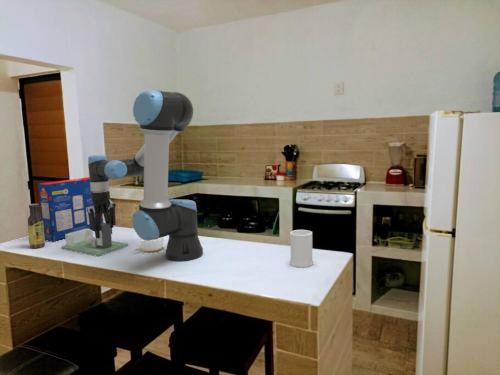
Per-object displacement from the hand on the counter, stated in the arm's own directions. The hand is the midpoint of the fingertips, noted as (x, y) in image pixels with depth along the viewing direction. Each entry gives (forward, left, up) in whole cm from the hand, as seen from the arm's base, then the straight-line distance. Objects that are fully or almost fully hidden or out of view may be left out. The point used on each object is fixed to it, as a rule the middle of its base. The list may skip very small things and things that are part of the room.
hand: (104, 243), depth 165 cm
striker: (+2, 0, -1) cm, 2 cm away
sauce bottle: (+32, +11, -3) cm, 34 cm away
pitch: (+7, 0, -3) cm, 7 cm away
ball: (+10, 0, 0) cm, 10 cm away
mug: (-84, -22, -3) cm, 87 cm away
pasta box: (+36, -11, -3) cm, 38 cm away
